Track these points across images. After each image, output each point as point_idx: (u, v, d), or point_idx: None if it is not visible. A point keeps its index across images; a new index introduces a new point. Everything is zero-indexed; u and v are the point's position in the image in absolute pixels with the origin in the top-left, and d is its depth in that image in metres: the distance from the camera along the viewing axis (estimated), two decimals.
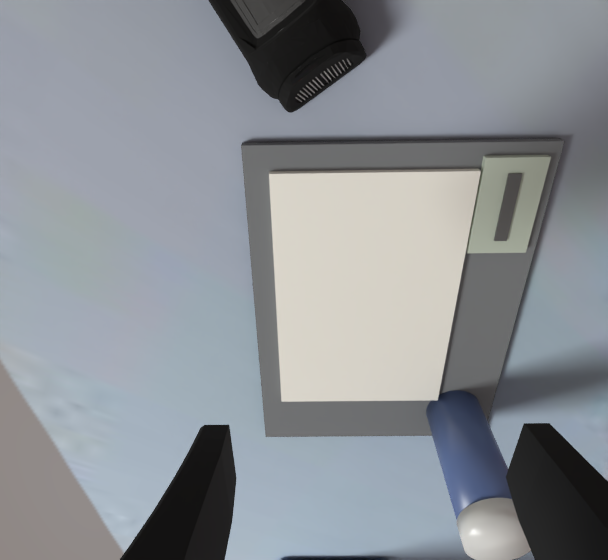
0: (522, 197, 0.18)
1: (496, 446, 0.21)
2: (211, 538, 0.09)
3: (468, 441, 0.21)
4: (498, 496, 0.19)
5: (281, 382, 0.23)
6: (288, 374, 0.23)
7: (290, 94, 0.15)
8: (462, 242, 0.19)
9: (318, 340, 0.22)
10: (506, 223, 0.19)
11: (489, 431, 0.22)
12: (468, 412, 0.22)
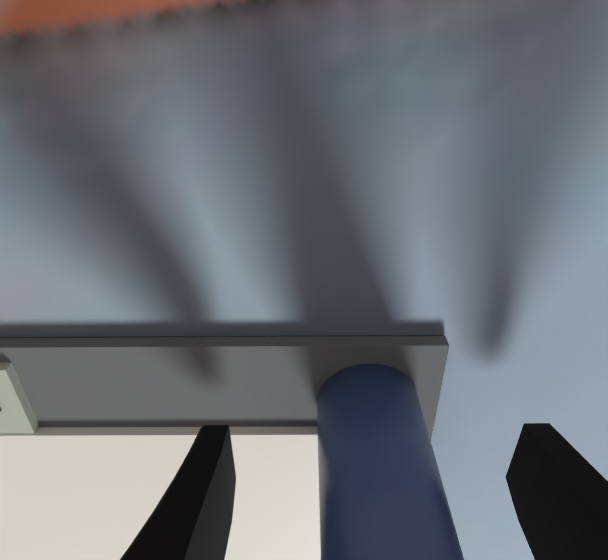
0: None
1: (340, 477, 0.10)
2: (211, 538, 0.09)
3: None
4: None
5: None
6: None
7: None
8: (20, 440, 0.13)
9: None
10: None
11: (335, 447, 0.10)
12: (318, 442, 0.12)
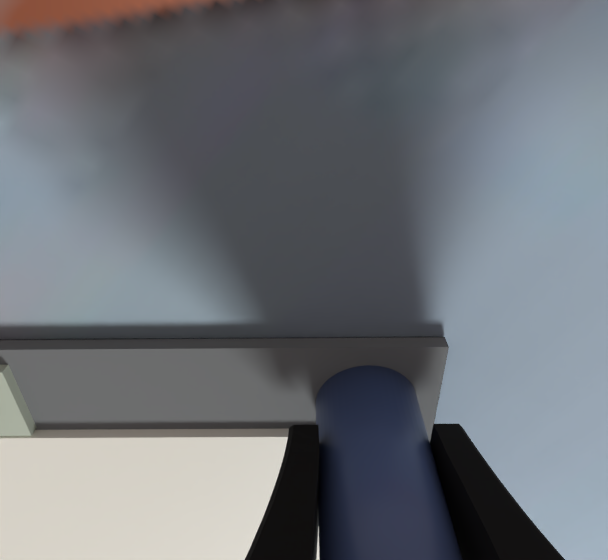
0: None
1: (339, 480, 0.10)
2: (315, 538, 0.09)
3: None
4: None
5: None
6: None
7: None
8: (16, 443, 0.13)
9: (214, 554, 0.16)
10: None
11: (334, 450, 0.10)
12: None
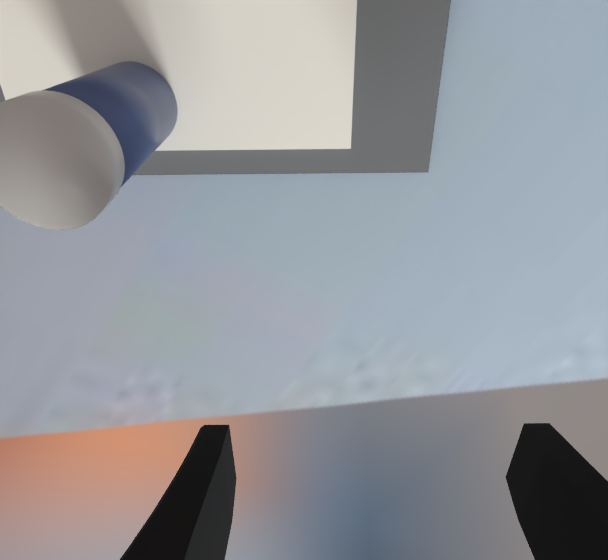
0: None
1: None
2: (211, 538, 0.09)
3: None
4: None
5: (314, 147, 0.17)
6: (299, 137, 0.17)
7: None
8: None
9: (237, 94, 0.16)
10: None
11: None
12: None
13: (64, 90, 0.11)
